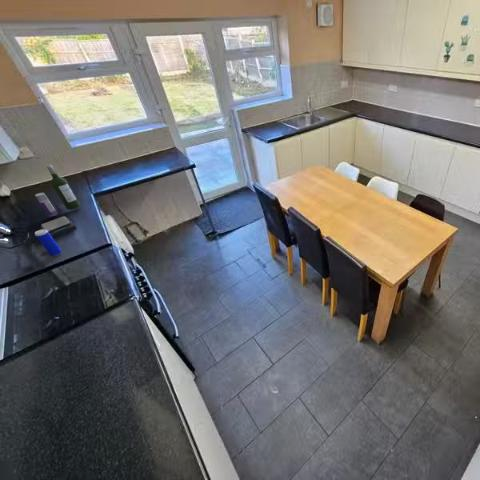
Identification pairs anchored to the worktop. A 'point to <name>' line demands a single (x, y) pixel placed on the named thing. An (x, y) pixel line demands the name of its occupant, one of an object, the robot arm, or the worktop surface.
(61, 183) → the wine bottle
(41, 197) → the container
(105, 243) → the worktop surface
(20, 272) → the worktop surface
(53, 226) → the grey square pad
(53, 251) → the beverage can
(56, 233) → the scale
